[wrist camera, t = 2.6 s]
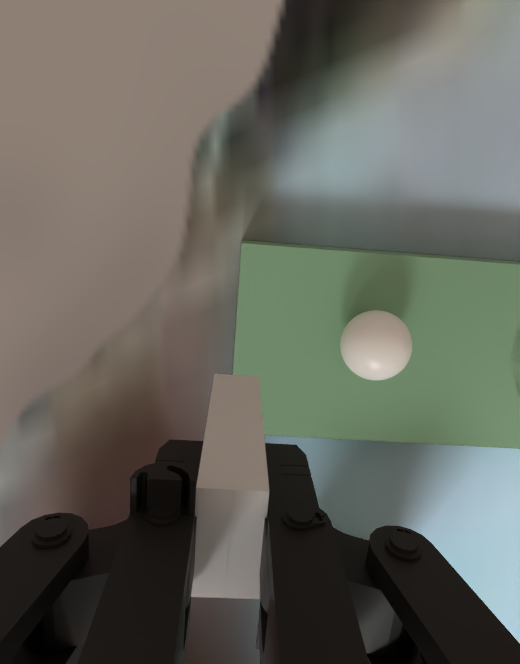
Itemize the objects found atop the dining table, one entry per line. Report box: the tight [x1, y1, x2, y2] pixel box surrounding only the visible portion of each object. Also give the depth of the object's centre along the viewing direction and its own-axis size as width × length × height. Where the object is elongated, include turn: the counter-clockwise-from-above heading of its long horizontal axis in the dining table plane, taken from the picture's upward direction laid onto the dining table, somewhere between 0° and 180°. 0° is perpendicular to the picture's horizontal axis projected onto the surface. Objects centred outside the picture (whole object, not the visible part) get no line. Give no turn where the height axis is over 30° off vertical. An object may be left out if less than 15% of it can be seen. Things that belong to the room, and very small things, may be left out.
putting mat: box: [232, 240, 520, 449], centre depth 31 cm, size 12×28×2 cm, turn 85°
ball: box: [340, 310, 412, 380], centre depth 27 cm, size 4×4×4 cm
